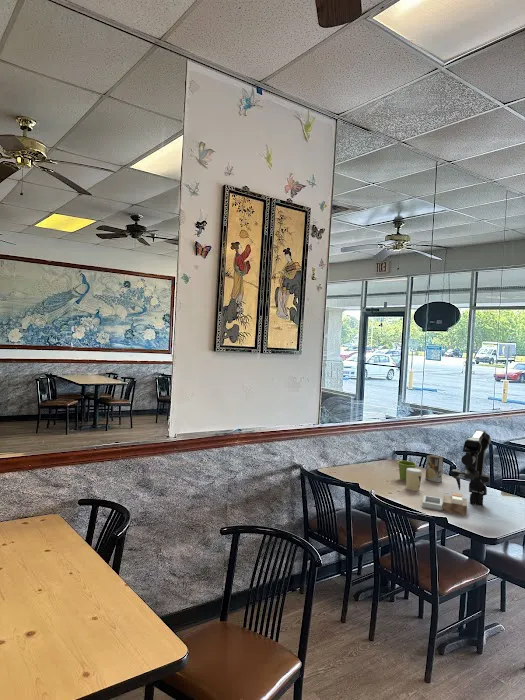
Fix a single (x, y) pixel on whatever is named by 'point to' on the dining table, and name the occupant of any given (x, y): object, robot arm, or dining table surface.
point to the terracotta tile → (457, 495)
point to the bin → (432, 503)
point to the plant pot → (403, 466)
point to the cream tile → (457, 500)
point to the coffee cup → (413, 479)
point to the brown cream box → (454, 506)
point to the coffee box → (434, 468)
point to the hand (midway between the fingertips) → (468, 491)
